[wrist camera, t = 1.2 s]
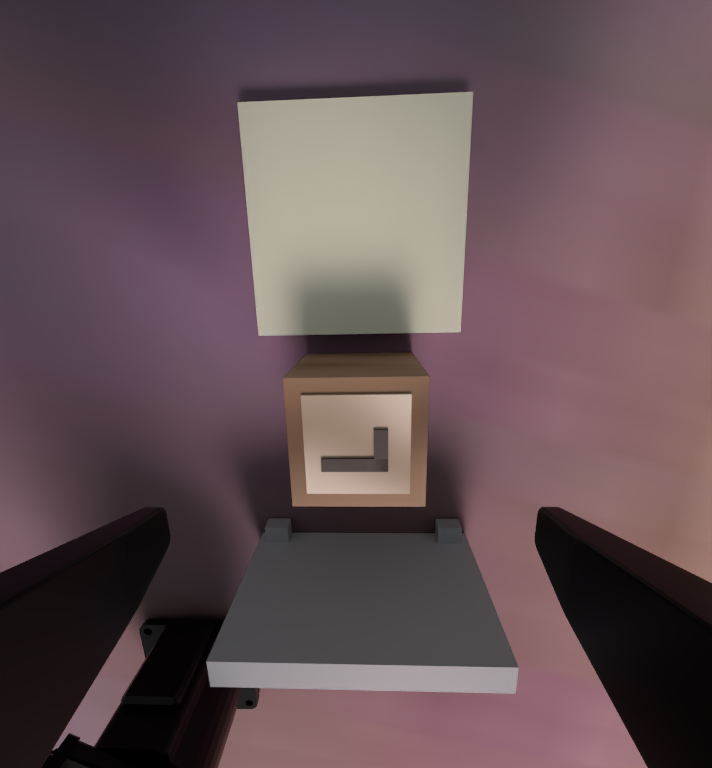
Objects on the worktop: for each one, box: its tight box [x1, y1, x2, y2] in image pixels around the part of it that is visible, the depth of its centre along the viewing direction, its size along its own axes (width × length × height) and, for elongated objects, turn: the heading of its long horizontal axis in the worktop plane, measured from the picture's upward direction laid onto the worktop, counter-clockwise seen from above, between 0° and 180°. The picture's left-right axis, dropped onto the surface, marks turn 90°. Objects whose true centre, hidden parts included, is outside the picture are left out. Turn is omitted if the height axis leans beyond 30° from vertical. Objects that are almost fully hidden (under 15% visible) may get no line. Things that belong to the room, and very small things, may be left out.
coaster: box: [237, 92, 473, 336], centre depth 15 cm, size 9×9×1 cm
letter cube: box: [283, 352, 430, 507], centre depth 15 cm, size 5×5×5 cm
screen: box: [206, 518, 519, 694], centre depth 16 cm, size 3×11×7 cm, turn 91°
